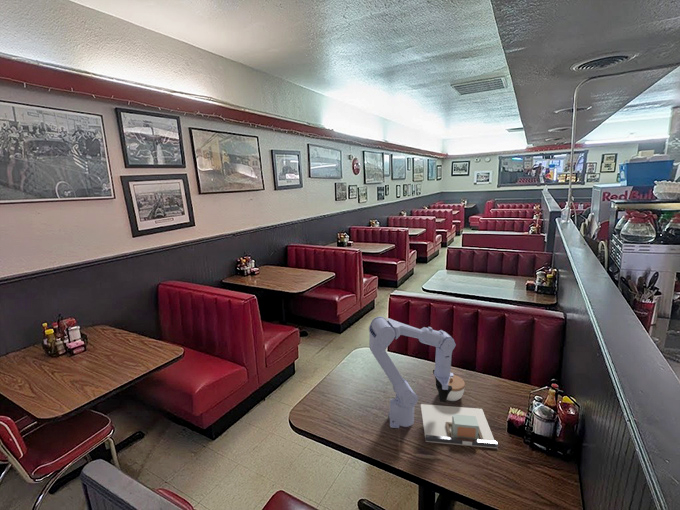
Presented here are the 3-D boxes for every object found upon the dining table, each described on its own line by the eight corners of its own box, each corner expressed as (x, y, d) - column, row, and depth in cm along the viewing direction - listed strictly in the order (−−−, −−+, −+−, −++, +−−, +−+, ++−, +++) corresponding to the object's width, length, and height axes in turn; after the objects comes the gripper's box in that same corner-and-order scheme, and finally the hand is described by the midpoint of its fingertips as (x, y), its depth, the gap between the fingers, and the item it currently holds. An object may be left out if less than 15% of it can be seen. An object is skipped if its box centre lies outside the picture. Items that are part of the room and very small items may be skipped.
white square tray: (425, 443, 117) (425, 437, 117) (420, 405, 137) (420, 400, 136) (497, 450, 114) (498, 444, 114) (481, 410, 133) (482, 405, 133)
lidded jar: (458, 409, 134) (460, 388, 132) (433, 399, 141) (434, 379, 138) (467, 395, 143) (468, 376, 140) (442, 386, 149) (443, 367, 147)
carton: (451, 428, 123) (452, 414, 122) (474, 430, 122) (475, 416, 121) (454, 439, 118) (455, 424, 117) (477, 441, 117) (479, 426, 116)
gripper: (457, 374, 118) (455, 408, 121) (450, 353, 132) (448, 384, 135) (437, 373, 119) (435, 406, 122) (432, 352, 133) (430, 382, 136)
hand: (441, 394), depth 129 cm, fingers open, 7 cm apart
